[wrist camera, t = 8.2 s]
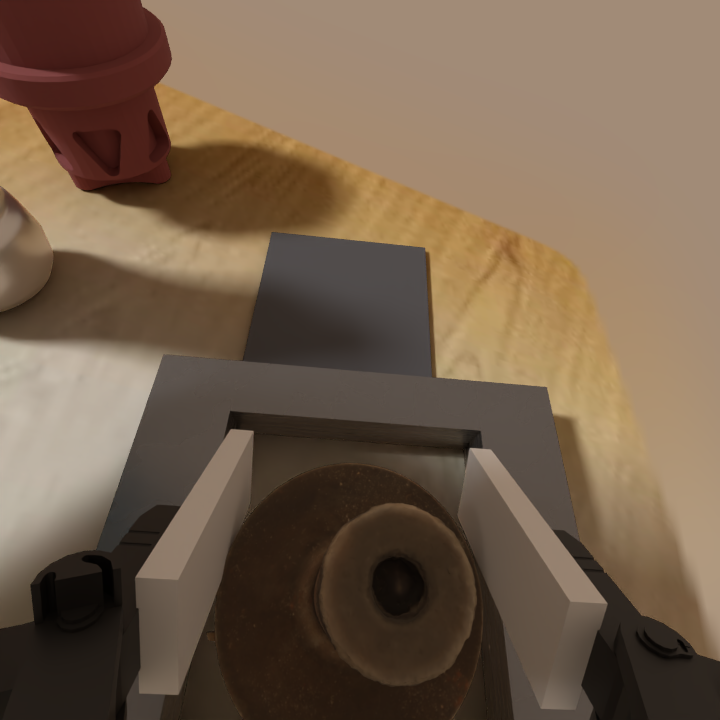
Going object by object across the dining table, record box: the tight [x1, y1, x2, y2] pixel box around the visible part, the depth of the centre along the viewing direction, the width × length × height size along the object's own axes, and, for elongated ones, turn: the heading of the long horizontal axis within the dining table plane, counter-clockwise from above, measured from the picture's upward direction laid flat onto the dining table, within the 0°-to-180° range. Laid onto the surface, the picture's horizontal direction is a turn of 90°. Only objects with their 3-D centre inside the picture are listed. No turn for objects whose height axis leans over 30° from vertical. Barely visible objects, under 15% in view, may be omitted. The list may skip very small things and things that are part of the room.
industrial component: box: [206, 463, 490, 720], centre depth 11 cm, size 9×7×12 cm
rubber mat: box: [243, 232, 432, 377], centre depth 24 cm, size 10×10×1 cm
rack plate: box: [96, 355, 593, 720], centre depth 16 cm, size 18×18×2 cm
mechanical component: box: [0, 0, 172, 190], centre depth 24 cm, size 12×10×10 cm
